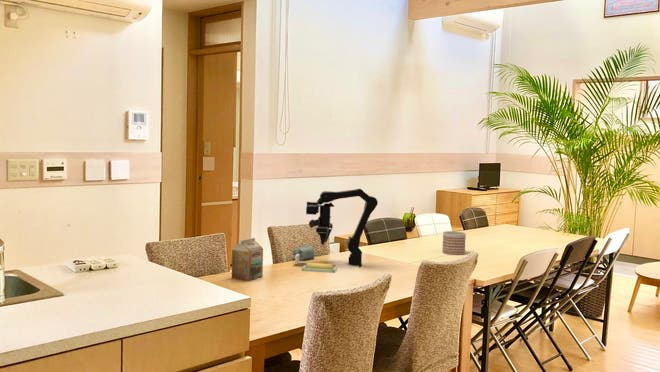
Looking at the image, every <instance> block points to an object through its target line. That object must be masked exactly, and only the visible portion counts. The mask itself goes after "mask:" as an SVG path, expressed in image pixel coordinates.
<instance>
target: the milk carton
mask: <svg viewBox="0 0 660 372" xmlns="http://www.w3.org/2000/svg"><path fill="white" fill-rule="evenodd" d="M263 261H264V248H263V247H262V245H260V244H259V242H257V241H256V238H255V237H252V238H245V239H242V240H240V243H238V244H237V245H235V246H234V247H233V248H232V249H231V279H234V278H235V279H234V280H241V281H244V282H251V281H255V280H258V278H259V279H261V277H262V278H263V277H264V276H263V273H264V272H263V270H264V266H263V265H264V262H263Z"/></svg>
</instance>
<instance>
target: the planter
mask: <svg viewBox="0 0 660 372" xmlns="http://www.w3.org/2000/svg"><path fill="white" fill-rule="evenodd" d="M466 236H467V235H466V232H463V231H456V230H455V231H453V230H452V231H451V230H449V231H448V230H447V231H443V233H442V253H443V254H445V255H453V256H462V255H465V253H466Z"/></svg>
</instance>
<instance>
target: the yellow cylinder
mask: <svg viewBox="0 0 660 372" xmlns="http://www.w3.org/2000/svg"><path fill="white" fill-rule="evenodd" d="M306 263H307V265H306V268H314V269H330V270H332V265H333V264H331V263H316V262H315V263H314V262H306Z"/></svg>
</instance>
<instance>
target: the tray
mask: <svg viewBox="0 0 660 372" xmlns="http://www.w3.org/2000/svg"><path fill="white" fill-rule="evenodd" d="M337 270H338V267H337V266H335V267H332V270H330V269H314V268H306V265H304V266H303V267H301V271H302V272H314V273H329V274H330V273H331V274H333V273H336V271H337Z"/></svg>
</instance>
